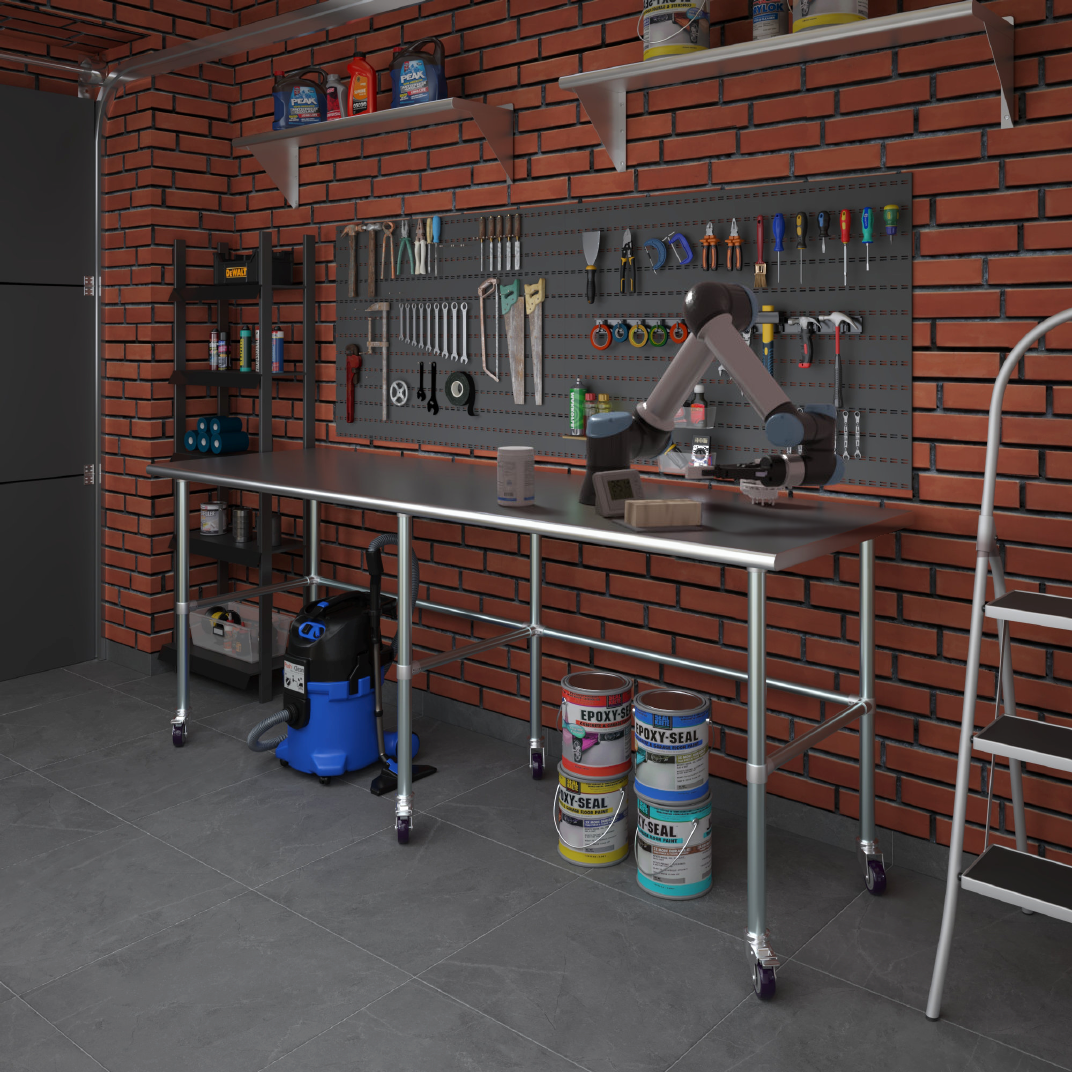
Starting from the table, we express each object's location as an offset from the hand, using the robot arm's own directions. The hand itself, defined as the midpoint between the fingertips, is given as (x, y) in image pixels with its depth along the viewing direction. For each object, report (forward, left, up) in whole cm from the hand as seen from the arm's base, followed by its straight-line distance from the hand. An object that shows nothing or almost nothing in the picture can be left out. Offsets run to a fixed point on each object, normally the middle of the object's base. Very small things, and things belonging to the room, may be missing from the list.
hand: (686, 472), depth 236 cm
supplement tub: (-39, -30, -12) cm, 51 cm away
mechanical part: (-29, +35, -12) cm, 47 cm away
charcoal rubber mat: (0, -7, -12) cm, 14 cm away
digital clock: (-18, -9, -12) cm, 24 cm away
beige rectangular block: (0, +3, -9) cm, 9 cm away
